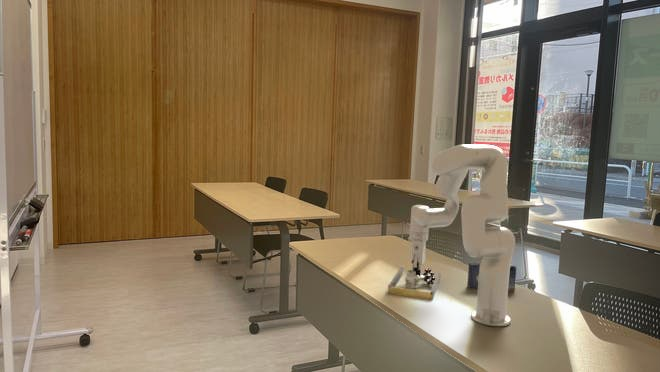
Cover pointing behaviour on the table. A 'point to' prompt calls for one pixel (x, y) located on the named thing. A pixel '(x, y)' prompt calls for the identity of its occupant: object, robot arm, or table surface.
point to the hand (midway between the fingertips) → (415, 278)
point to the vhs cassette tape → (474, 277)
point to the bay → (410, 292)
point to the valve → (418, 278)
